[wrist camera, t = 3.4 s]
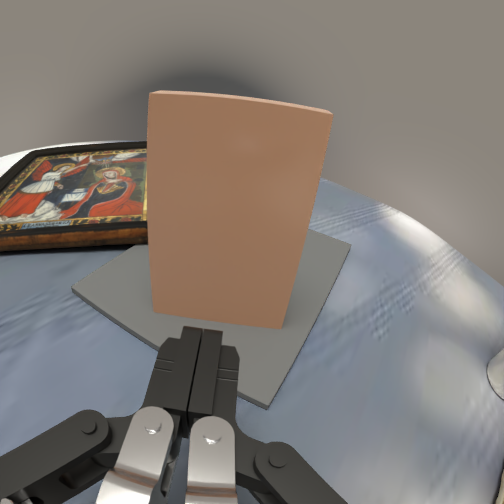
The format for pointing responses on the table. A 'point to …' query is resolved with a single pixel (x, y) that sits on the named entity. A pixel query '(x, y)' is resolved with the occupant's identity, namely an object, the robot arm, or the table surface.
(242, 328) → the mat
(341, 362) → the table surface
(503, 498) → the storage basket
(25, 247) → the religious icon
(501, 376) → the beer glass
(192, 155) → the tile
